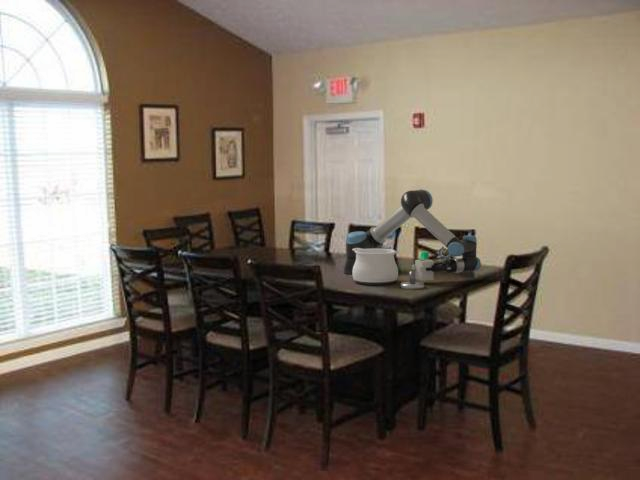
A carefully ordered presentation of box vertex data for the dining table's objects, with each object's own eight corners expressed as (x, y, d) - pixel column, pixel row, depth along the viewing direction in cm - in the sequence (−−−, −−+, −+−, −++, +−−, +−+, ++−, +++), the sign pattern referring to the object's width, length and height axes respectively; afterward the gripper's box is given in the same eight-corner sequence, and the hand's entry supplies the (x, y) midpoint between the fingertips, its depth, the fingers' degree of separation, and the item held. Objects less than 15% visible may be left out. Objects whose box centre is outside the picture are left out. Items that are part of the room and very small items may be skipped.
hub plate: (407, 290, 360) (407, 274, 359) (396, 286, 371) (396, 271, 370) (428, 288, 365) (428, 272, 364) (416, 284, 376) (416, 269, 375)
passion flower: (445, 271, 455) (437, 256, 451) (437, 265, 465) (429, 251, 460) (459, 260, 456) (451, 246, 452) (451, 255, 466) (443, 241, 461)
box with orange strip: (421, 280, 374) (422, 260, 373) (415, 278, 381) (415, 258, 380) (433, 279, 377) (433, 259, 376) (426, 277, 383) (426, 257, 382)
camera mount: (438, 269, 428) (438, 252, 427) (425, 270, 426) (425, 252, 425) (430, 266, 440) (430, 249, 439) (418, 267, 438) (418, 250, 437)
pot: (410, 281, 385) (410, 249, 383) (382, 288, 367) (382, 254, 365) (368, 276, 404) (368, 245, 402) (340, 282, 386) (339, 250, 384)
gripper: (464, 275, 376) (425, 278, 368) (443, 270, 395) (406, 272, 386) (464, 261, 375) (426, 263, 367) (443, 256, 394) (406, 258, 385)
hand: (416, 268), depth 376 cm, fingers closed on box with orange strip, 7 cm apart
